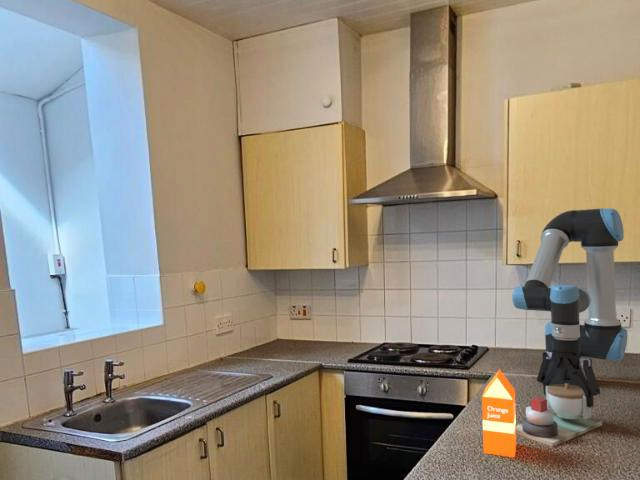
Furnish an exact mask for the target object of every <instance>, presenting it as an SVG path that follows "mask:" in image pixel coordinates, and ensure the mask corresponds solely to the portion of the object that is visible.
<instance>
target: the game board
mask: <svg viewBox="0 0 640 480" xmlns="http://www.w3.org/2000/svg"><path fill="white" fill-rule="evenodd" d="M521 421H522V422H521V423H520V424H519V423H518V424H517V425H516V435H519V436H522V437H524V438H527V439H530V440H533V441H535V442H538V443H541V444H544V445H545V446H549V447H552V448H554V447H555V446H558V445H560V444H563V443H564V442H568V441H569V440H572V439H574V438H576V437H579V436H580V435H581V436H582V435H584V434H586V433H588V432H590V431H592V430H596V429H597V428H598V427H602V426H603V421H601V420H599V419H596V418H592V417H590V418H587V419H584V418H583V414H582V415H581V416H580V417H579V418H578V419H565V418H561V417H559V416H557V414H556V413H555V412H554V411H553V424H551V425H536V424H532V423H530V422H528V421H527V420H526V417H524V418H522V420H521Z"/></svg>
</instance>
